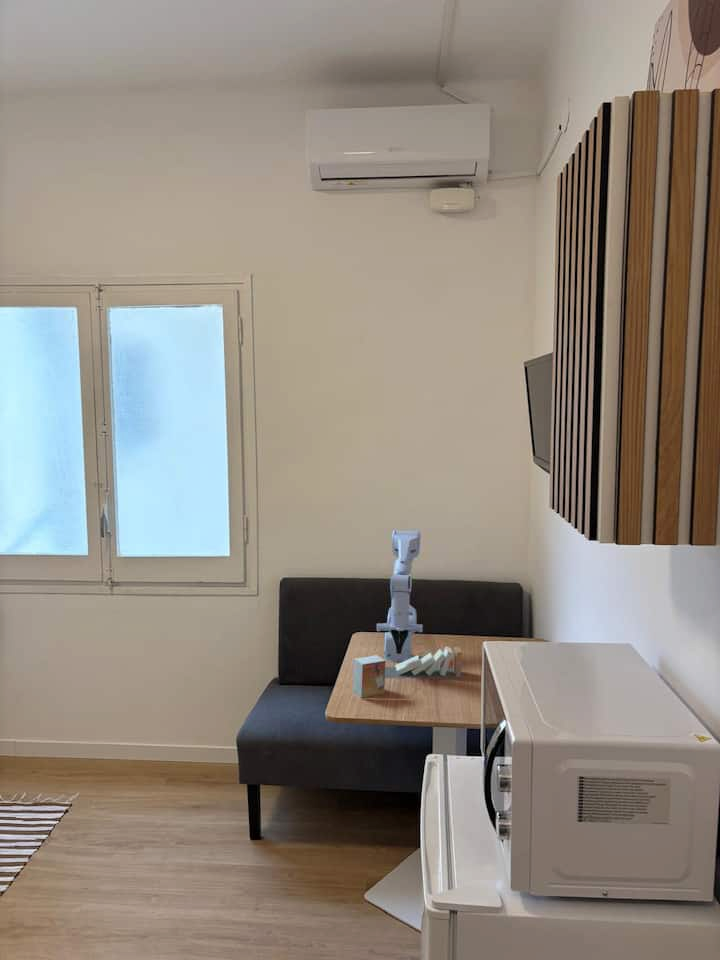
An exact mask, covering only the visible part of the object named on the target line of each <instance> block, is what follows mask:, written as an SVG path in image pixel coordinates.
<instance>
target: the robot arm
mask: <svg viewBox="0 0 720 960" xmlns="http://www.w3.org/2000/svg"><path fill="white" fill-rule="evenodd" d="M391 547H392V548H391V550H392V555H393V556H394V557H396V558H397V559H396V560H395V561H394V564H393V565H394V566H393V573H392V575H390V576H391V577H390V583H389V585H390V588H389V589H390V598H391V607H389V609H388V614H387V621H386V623H385V622H384V623H376V631H377V632H381V631H382V632H384V648H383V655H384V660H385V662H404V661H406V660H408V659H410V658H413V657H414V656H413V654H412V643H413V634H415V632H418V633H423V627H424V626H423V624H422V623H421V624H418V623H417V617H418V616H417V610H416V608H414V607H413V606H412V605H411V604H410V601H411V599H410V595H411V593H412V584H413V583H412V582H413V580H412V579H413V578H412V566H413V565H412V564H413V561H414V559H415V558H417V557H419V554H420V548H421V532H420V531H419V530H417V531H410V530H409V531H408V530H407V531H406V530H396V529H394V530H393V531H392V534H391ZM386 631H388V632H386Z"/></svg>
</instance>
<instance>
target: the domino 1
mask: <svg viewBox="0 0 720 960" xmlns="http://www.w3.org/2000/svg"><path fill="white" fill-rule="evenodd" d="M412 657H413V658H410V659H408V660H406V661H404V662H403V661H400V662H399V663H398V664H397V663H396V664H395V667H396V671H397V673H398V675H401V674H403V673H405V672H407V671H410V670H412V669H414V668H416V667H419V666H421V662H420V659H421V658H420V657H419V655H415V656H412Z"/></svg>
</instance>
